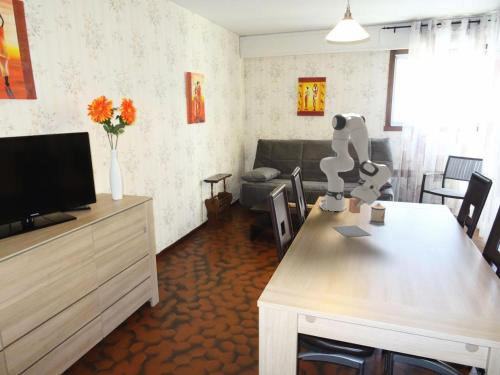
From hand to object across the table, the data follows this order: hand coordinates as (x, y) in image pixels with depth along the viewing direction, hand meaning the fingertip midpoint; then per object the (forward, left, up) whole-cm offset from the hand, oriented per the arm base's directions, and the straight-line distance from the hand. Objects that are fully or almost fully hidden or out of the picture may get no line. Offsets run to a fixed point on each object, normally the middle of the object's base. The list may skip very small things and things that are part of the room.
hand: (353, 205), depth 207 cm
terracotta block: (0, +1, -4) cm, 4 cm away
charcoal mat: (0, 0, -16) cm, 16 cm away
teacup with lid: (-18, +29, -17) cm, 38 cm away
